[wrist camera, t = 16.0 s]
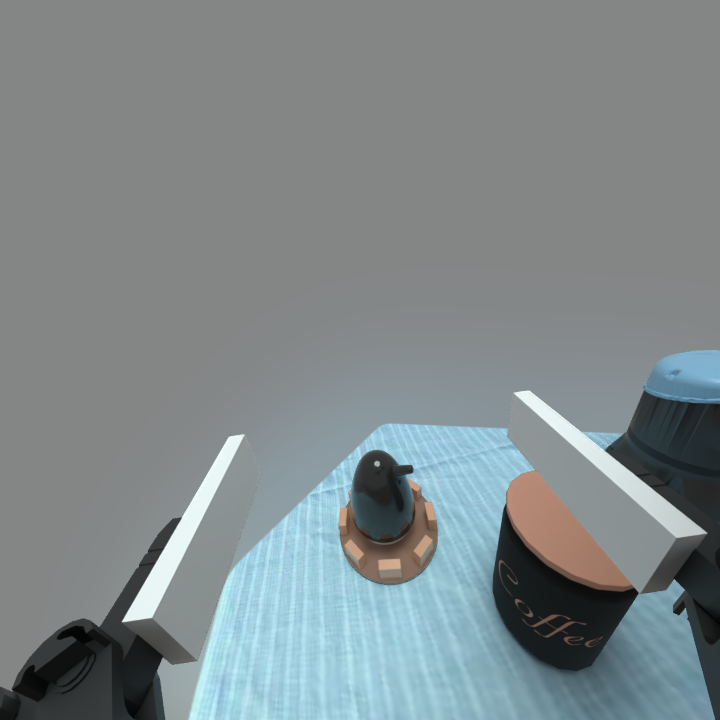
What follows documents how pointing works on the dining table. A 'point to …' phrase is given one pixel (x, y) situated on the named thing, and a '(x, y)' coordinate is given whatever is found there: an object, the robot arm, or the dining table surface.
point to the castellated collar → (392, 545)
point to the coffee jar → (555, 578)
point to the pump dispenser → (382, 498)
